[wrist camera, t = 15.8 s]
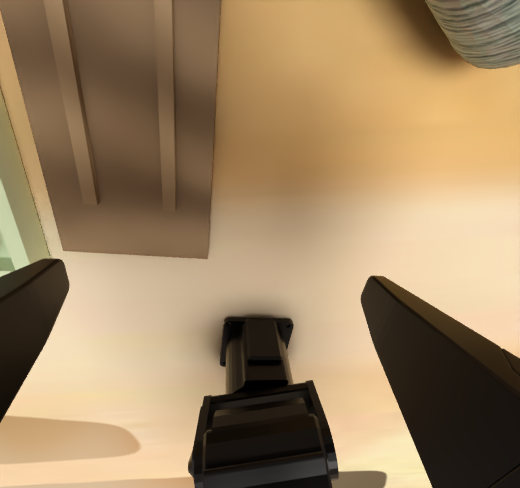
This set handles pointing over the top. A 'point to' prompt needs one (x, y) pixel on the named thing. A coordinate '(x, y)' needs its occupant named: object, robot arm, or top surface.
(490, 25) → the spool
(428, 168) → the top surface
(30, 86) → the holder board
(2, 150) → the tray
